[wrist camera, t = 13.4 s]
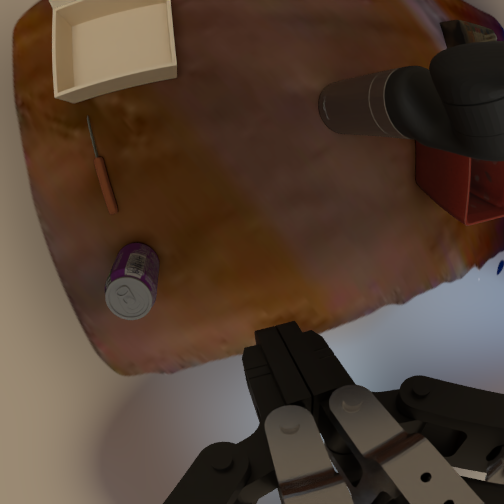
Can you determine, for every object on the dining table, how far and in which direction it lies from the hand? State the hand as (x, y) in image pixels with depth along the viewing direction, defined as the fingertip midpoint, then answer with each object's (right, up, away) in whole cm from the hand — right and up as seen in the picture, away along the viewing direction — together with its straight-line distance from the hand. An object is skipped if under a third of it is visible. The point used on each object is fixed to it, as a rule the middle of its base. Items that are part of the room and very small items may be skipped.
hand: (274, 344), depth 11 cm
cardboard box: (-20, +33, +22) cm, 45 cm away
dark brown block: (+50, +55, +33) cm, 81 cm away
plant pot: (+37, +24, +41) cm, 61 cm away
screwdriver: (-23, +17, +28) cm, 40 cm away
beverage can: (-19, +2, +35) cm, 40 cm away
